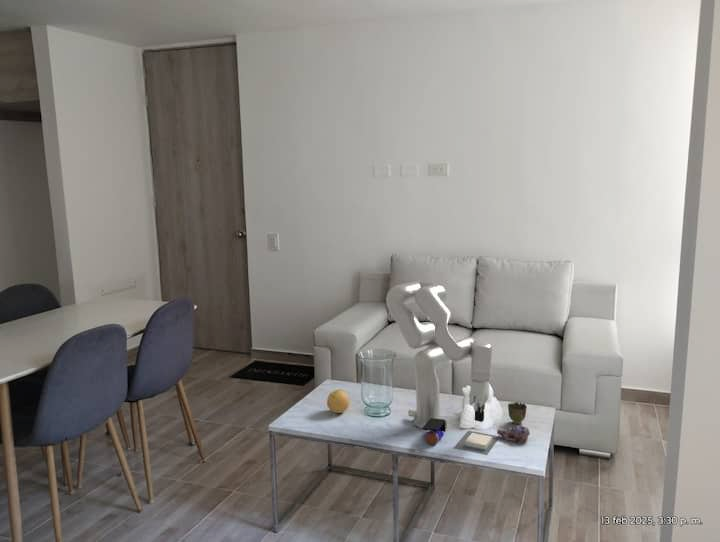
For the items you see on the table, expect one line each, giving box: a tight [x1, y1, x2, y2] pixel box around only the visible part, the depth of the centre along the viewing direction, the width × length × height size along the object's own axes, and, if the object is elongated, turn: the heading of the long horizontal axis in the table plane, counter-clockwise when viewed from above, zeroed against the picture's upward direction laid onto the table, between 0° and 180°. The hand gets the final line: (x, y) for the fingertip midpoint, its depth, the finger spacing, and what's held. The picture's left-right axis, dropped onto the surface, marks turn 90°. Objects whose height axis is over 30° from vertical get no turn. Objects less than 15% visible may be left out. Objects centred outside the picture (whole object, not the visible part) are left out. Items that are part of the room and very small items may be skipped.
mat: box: [453, 430, 501, 456], centre depth 225 cm, size 13×17×1 cm
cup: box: [507, 401, 527, 426], centre depth 241 cm, size 8×7×8 cm
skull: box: [496, 425, 531, 444], centre depth 227 cm, size 12×8×6 cm, turn 60°
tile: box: [465, 433, 492, 450], centre depth 224 cm, size 8×2×8 cm
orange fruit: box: [326, 389, 351, 414], centre depth 258 cm, size 10×10×10 cm
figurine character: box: [421, 418, 448, 446], centre depth 230 cm, size 7×8×15 cm
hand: (479, 420), depth 226 cm, fingers closed
